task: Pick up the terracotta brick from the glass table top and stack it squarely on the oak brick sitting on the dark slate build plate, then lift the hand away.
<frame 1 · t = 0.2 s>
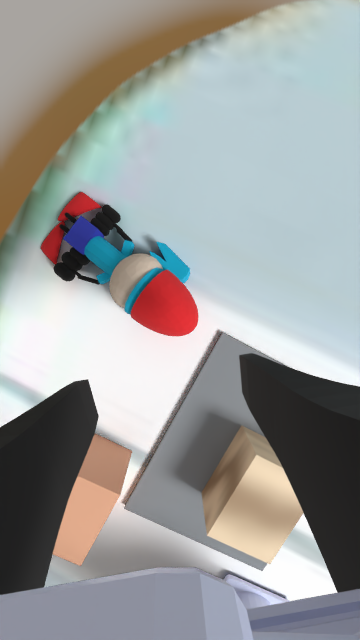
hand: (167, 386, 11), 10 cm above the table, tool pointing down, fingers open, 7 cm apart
toy figure: (129, 272, 21), on the table
terracotta brick: (98, 470, 22), on the table
oak brick: (247, 472, 22), resting on build plate
build plate: (242, 456, 22), on the table
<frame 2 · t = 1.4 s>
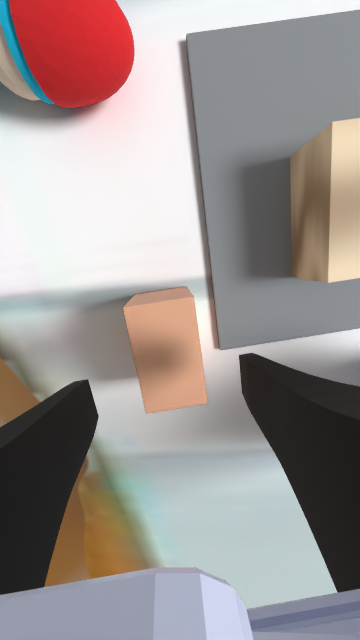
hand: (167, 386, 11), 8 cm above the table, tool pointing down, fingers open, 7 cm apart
toy figure: (20, 68, 14), on the table
terracotta brick: (168, 332, 18), on the table
oak brick: (332, 214, 16), resting on build plate
build plate: (315, 203, 16), on the table
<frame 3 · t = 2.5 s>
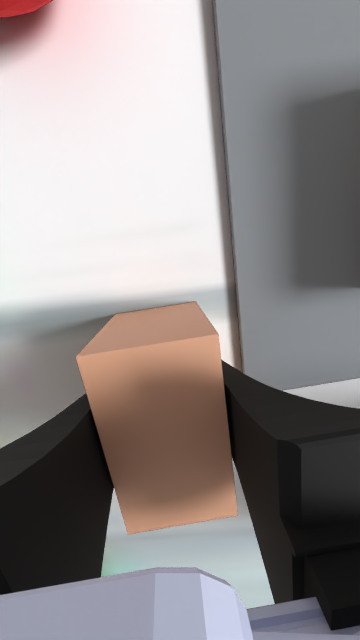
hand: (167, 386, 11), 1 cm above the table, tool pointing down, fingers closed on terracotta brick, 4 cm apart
terracotta brick: (167, 371, 12), on the table, touching gripper
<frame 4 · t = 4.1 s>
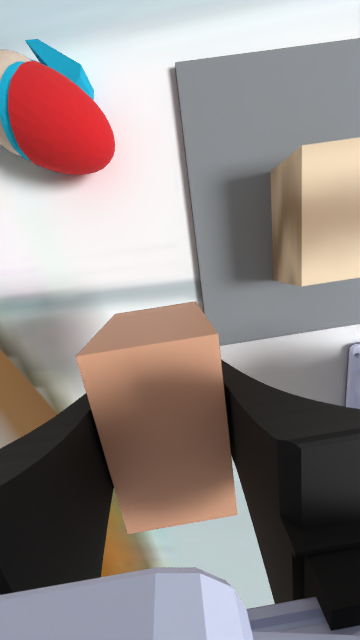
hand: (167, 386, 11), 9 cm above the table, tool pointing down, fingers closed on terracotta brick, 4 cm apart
toy figure: (21, 119, 16), on the table
terracotta brick: (166, 371, 12), point 8 cm above the table, touching gripper
oak brick: (309, 223, 18), resting on build plate
build plate: (294, 213, 18), on the table
when the fingers open (7 cm above the table, at t = 5.8 s): terracotta brick drops 1 cm, resting on oak brick.
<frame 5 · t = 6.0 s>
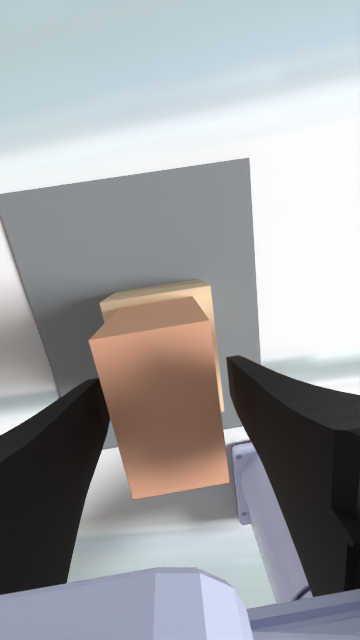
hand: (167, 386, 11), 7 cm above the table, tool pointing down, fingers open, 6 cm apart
terracotta brick: (167, 360, 13), point 4 cm above the table, touching oak brick
oak brick: (167, 338, 17), resting on build plate, touching terracotta brick
build plate: (151, 326, 17), on the table
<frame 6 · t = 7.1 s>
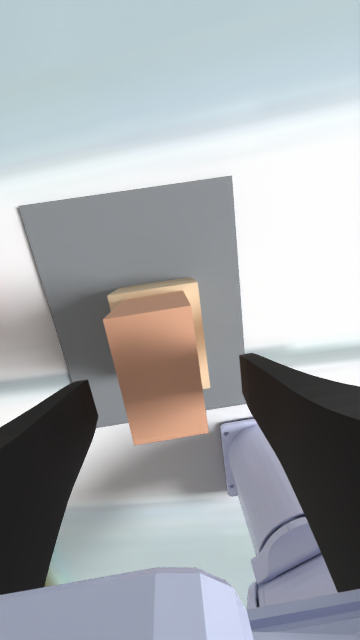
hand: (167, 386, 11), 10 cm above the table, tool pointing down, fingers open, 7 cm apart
terracotta brick: (162, 344, 16), point 4 cm above the table, touching oak brick
oak brick: (163, 328, 20), resting on build plate, touching terracotta brick
build plate: (150, 317, 20), on the table
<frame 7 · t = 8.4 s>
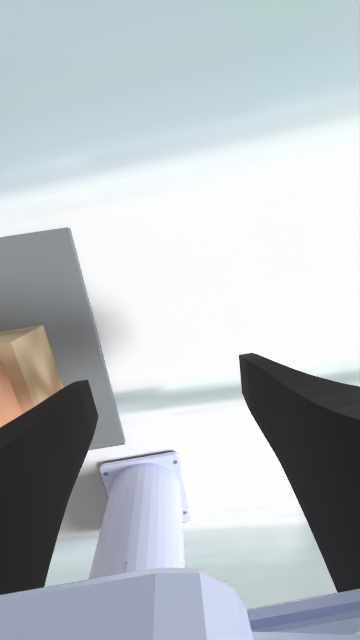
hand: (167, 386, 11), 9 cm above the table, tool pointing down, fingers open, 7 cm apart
oak brick: (22, 374, 20), resting on build plate, touching terracotta brick
build plate: (10, 363, 20), on the table
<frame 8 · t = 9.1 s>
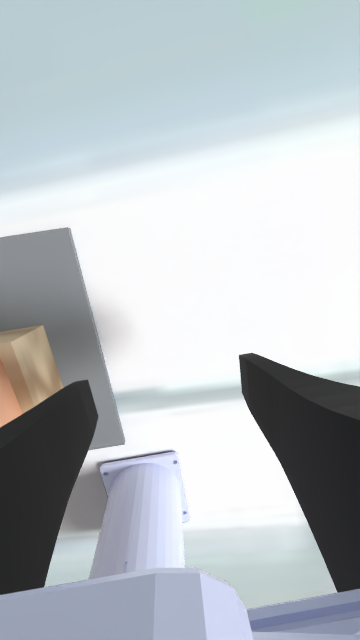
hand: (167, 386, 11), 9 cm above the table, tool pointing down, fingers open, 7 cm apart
oak brick: (22, 374, 20), resting on build plate, touching terracotta brick
build plate: (10, 363, 20), on the table
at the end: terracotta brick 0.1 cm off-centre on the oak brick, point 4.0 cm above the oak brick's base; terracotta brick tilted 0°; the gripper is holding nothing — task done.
